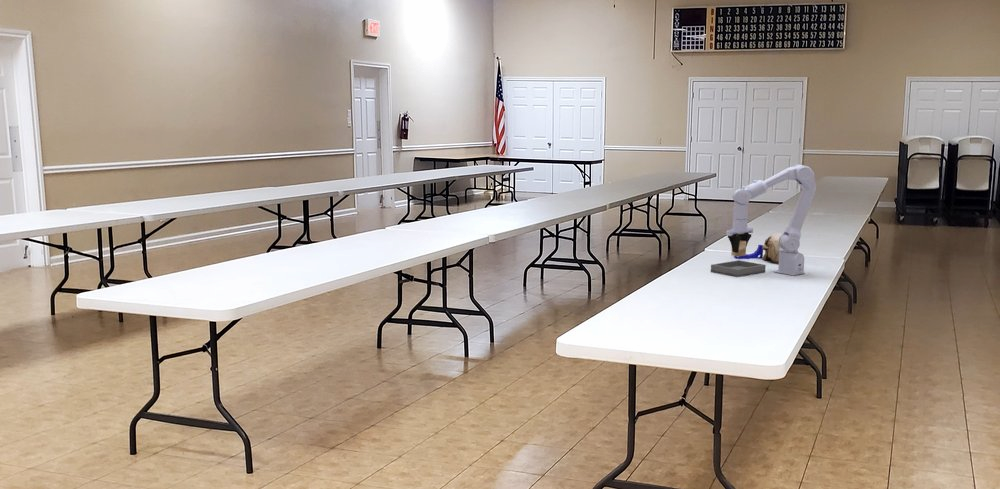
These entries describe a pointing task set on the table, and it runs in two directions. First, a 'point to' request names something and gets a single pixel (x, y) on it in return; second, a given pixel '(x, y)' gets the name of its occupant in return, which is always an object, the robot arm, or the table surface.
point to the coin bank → (772, 248)
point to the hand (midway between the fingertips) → (738, 251)
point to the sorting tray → (738, 268)
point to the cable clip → (753, 254)
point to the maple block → (740, 249)
